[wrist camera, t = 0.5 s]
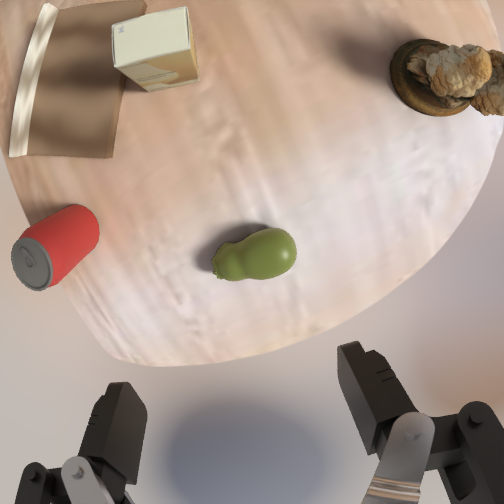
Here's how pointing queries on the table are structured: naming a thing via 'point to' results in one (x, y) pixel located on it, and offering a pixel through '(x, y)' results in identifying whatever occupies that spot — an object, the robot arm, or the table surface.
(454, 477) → the robot arm
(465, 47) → the brown lumpy upright piece
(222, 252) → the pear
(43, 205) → the table surface
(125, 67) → the skincare box
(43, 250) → the beer can
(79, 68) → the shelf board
